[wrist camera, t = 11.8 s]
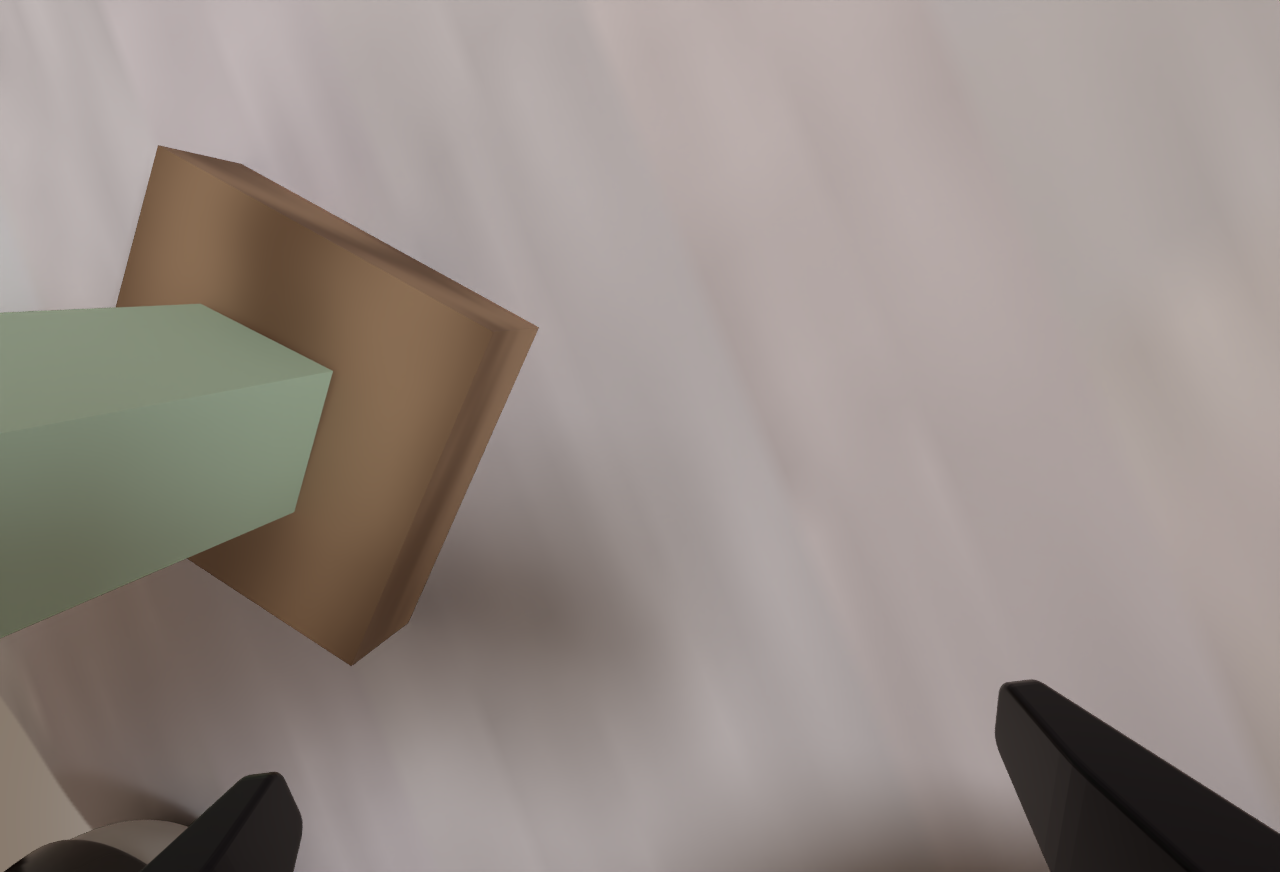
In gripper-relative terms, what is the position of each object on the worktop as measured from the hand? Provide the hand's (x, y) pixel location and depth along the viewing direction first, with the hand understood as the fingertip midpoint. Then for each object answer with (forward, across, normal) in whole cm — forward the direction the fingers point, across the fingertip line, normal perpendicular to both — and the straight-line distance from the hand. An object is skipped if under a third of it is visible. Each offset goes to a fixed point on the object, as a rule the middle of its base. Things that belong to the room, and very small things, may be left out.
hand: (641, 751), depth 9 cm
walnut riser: (+16, +10, 0) cm, 19 cm away
